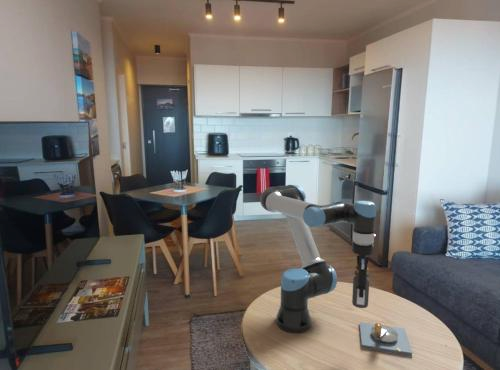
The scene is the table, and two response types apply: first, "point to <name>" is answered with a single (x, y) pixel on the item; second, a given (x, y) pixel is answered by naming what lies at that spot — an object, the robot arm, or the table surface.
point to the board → (397, 348)
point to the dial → (384, 333)
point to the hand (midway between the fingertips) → (360, 299)
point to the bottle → (355, 284)
